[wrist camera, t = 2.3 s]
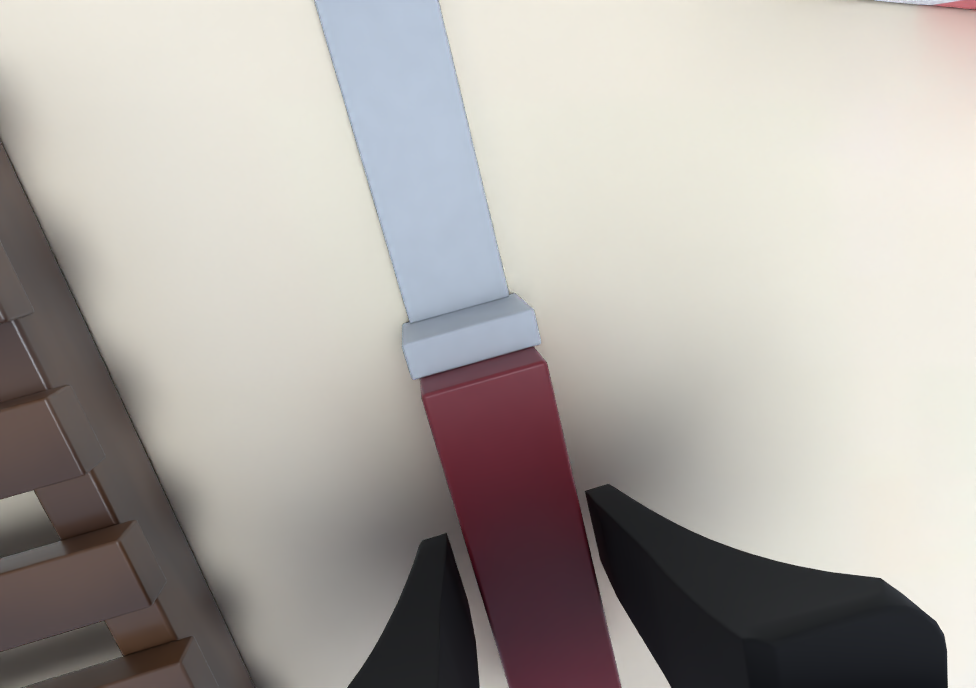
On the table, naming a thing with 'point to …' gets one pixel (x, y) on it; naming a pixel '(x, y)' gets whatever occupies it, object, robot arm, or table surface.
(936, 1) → the ink cartridge box
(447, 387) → the knife
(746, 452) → the table surface
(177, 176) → the table surface
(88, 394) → the drying rack
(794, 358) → the table surface
